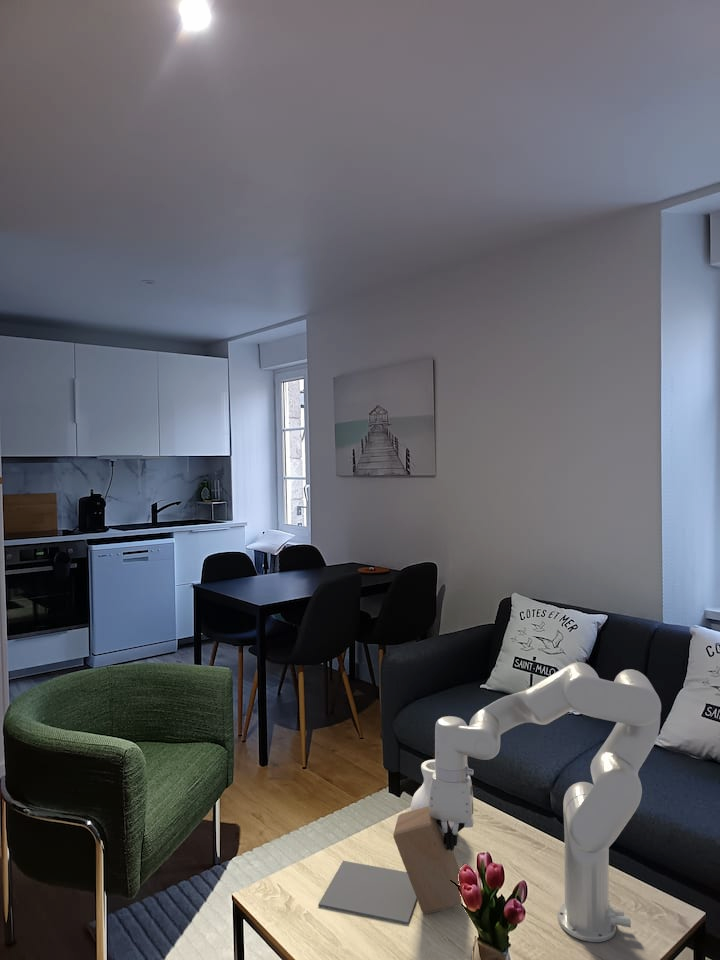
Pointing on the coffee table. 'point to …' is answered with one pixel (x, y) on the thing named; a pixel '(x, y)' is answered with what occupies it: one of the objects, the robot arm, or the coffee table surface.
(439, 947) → the coffee table surface
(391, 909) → the mat
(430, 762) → the vase
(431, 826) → the block
